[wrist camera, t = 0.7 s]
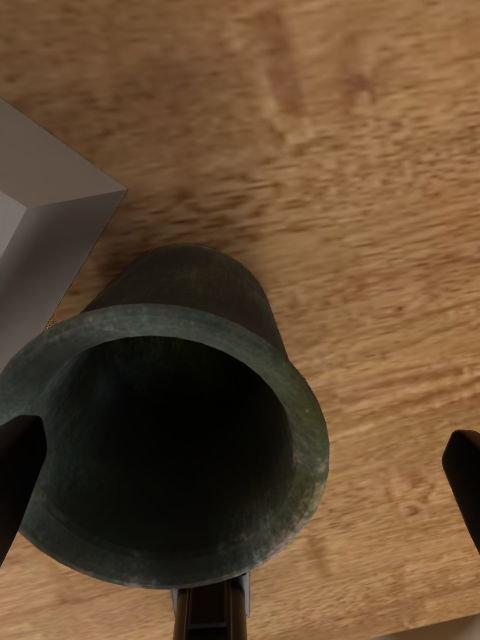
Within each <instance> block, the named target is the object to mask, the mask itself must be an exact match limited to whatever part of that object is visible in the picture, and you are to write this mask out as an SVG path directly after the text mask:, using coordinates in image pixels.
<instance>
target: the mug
mask: <svg viewBox="0 0 480 640" xmlns="http://www.w3.org/2000/svg"><path fill="white" fill-rule="evenodd" d="M18 415H38V416H40V417H41V418H42V421H43V425H44V430H45V436H46V441H47V454H46V457H45V460H44V463H43V466H42V468H41V471H40V474H39V476H38V479H37V482H36V484H35V487H34V490H33V493H32V495H31V498H30V501H29V503H28V506H27V509H26V512H25V514H24V517H23V519H22V522H21V524H20V527H19V529H18V531H19V532H20V533H21V535H23V536H24V537H25V538H26V539H27V540H28V541H30V542H31V543H32V544H33V545H34V546H36V547H37V548H38V549H39V550H41V551H42V552H44V553H45V554H47V555H48V556H50V557H51V558H53V559H54V560H56V561H58V562H59V563H61V564H63V565H65V566H67V567H69V568H71V569H74V570H76V571H78V572H80V573H82V574H85V575H88V576H90V577H93V578H96V579H99V580H102V581H105V582H110V583H114V584H118V585H122V586H128V587H136V588H144V589H182V588H193V587H198V586H203V585H208V584H213V583H218V582H221V581H224V580H227V579H230V578H233V577H236V576H239V575H241V574H243V573H245V572H248V571H250V570H252V569H254V568H256V567H258V566H260V565H261V564H263V563H264V562H266V561H268V560H269V559H271V558H273V557H274V556H276V555H277V554H278V553H279V552H280V551H282V550H283V549H284V548H285V547H286V546H288V545H289V544H290V543H291V542H292V541H293V540H294V539H295V538H296V537H297V536H298V534H299V533H300V532H301V531H302V530H303V529H304V528H305V526H306V525H307V523H308V522H309V520H310V519H311V517H312V516H313V514H314V512H315V511H316V509H317V507H318V504H319V502H320V500H321V497H322V495H323V493H324V490H325V485H326V480H327V476H328V471H329V439H328V433H327V427H326V422H325V419H324V416H323V413H322V411H321V408H320V405H319V403H318V400H317V398H316V397H315V395H314V393H313V392H312V390H311V388H310V387H309V385H308V383H307V381H306V380H305V378H304V377H303V376H302V375H301V374H300V372H299V371H298V370H297V369H296V368H295V367H294V365H293V364H292V363H291V362H290V361H289V359H288V356H287V353H286V350H285V347H284V344H283V342H282V339H281V336H280V333H279V330H278V327H277V325H276V322H275V319H274V316H273V313H272V310H271V308H270V305H269V302H268V300H267V297H266V294H265V292H264V291H263V289H262V287H261V286H260V284H259V282H258V281H257V280H256V279H255V277H254V276H253V275H252V274H251V272H250V271H249V270H247V269H246V268H245V267H244V266H243V265H242V264H241V263H239V262H238V261H236V260H235V259H233V258H232V257H230V256H229V255H227V254H225V253H222V252H220V251H218V250H215V249H212V248H208V247H205V246H201V245H191V244H178V245H169V246H165V247H160V248H157V249H154V250H152V251H150V252H147V253H145V254H143V255H142V256H140V257H138V258H137V259H135V260H134V261H132V262H131V263H130V264H129V265H128V266H127V267H126V268H125V269H124V270H123V271H122V272H121V273H120V274H119V275H118V276H117V277H116V278H115V279H114V280H113V281H112V282H111V283H110V284H109V285H108V286H107V287H106V288H105V289H104V290H103V291H102V292H101V293H100V294H99V295H98V296H97V297H96V298H95V299H94V300H93V301H92V302H91V303H90V304H89V305H88V306H87V307H86V308H85V309H84V310H83V311H82V312H81V313H80V314H79V315H77V316H74V317H72V318H69V319H67V320H65V321H62V322H60V323H57V324H55V325H53V326H52V327H50V328H49V329H47V330H45V331H44V332H42V333H41V334H39V335H38V336H36V337H35V338H33V339H32V340H30V341H29V342H28V343H27V344H26V345H25V346H24V347H23V348H22V349H21V350H19V351H18V352H17V353H16V354H15V355H14V356H13V357H12V358H11V359H10V360H9V362H8V363H7V365H6V366H5V367H4V369H3V370H2V372H1V373H0V426H1V425H3V424H4V423H6V422H8V421H9V420H11V419H13V418H14V417H16V416H18Z"/></svg>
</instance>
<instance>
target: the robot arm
mask: <svg viewBox="0 0 480 640" xmlns="http://www.w3.org/2000/svg"><path fill="white" fill-rule="evenodd" d="M46 454H47V441H46V436H45V430H44V425H43V421H42V418H41V417H40V416H38V415H18V416H16V417H14V418H13V419H11V420H9V421H8V422H6V423H4V424H3V425H1V426H0V567H1V565H2V563H3V561H4V559H5V557H6V555H7V553H8V551H9V548H10V546H11V544H12V542H13V540H14V538H15V536H16V534H17V532H18V529H19V527H20V524H21V522H22V519H23V517H24V514H25V512H26V509H27V506H28V503H29V501H30V498H31V495H32V493H33V490H34V487H35V484H36V482H37V479H38V476H39V474H40V471H41V468H42V466H43V463H44V460H45V457H46ZM442 465H443V469H444V471H445V474H446V476H447V479H448V481H449V484H450V486H451V489H452V491H453V494H454V497H455V499H456V502H457V504H458V507H459V509H460V512H461V514H462V517H463V519H464V522H465V524H466V526H467V529H468V531H469V533H470V536H471V538H472V540H473V542H474V544H475V546H476V548H477V550H478V552H479V554H480V433H478V432H476V431H473V430H455V431H454V432H453V433H452V434H451V437H450V439H449V441H448V444H447V446H446V449H445V451H444V453H443V456H442ZM172 597H173V605H174V613H175V624H174V633H173V640H247V626H246V619H247V618H248V617H249V616H250V587H249V571H248V572H245V573H243V574H241V575H239V576H236V577H233V578H230V579H227V580H224V581H221V582H218V583H213V584H208V585H203V586H198V587H193V588H182V589H172Z"/></svg>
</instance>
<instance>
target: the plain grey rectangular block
mask: <svg viewBox="0 0 480 640" xmlns="http://www.w3.org/2000/svg"><path fill="white" fill-rule="evenodd" d="M127 190H128V189H127V188H126V187H124V186H123V185H122V184H120V183H119V182H117V181H116V180H115V179H113V178H112V177H110V176H109V175H108V174H106V173H105V172H103V171H102V170H101V169H99V168H98V167H96V166H95V165H94V164H92V163H91V162H89V161H88V160H87V159H85V158H84V157H83V156H81V155H80V154H78V153H77V152H76V151H74V150H73V149H71V148H70V147H69V146H67V145H66V144H64V143H63V142H62V141H60V140H59V139H57V138H56V137H55V136H53V135H52V134H50V133H49V132H48V131H46V130H45V129H44V128H42V127H41V126H39V125H38V124H37V123H35V122H34V121H32V120H31V119H30V118H28V117H27V116H25V115H24V114H23V113H21V112H20V111H18V110H17V109H16V108H14V107H13V106H11V105H10V104H9V103H7V102H6V101H5V100H3V99H2V98H0V373H1V372H2V370H3V369H4V367H5V366H6V365H7V363H8V362H9V360H10V359H11V358H12V357H13V356H14V355H15V354H16V353H17V352H18V351H19V350H21V349H22V348H23V347H24V346H25V345H26V344H27V343H28V342H29V341H30V340H32V339H33V338H35V337H36V336H38V335H39V334H41V333H42V331H43V330H44V328H45V326H46V325H47V323H48V321H49V320H50V318H51V316H52V315H53V313H54V311H55V310H56V308H57V306H58V305H59V303H60V301H61V300H62V298H63V296H64V295H65V293H66V291H67V290H68V288H69V286H70V285H71V283H72V282H73V280H74V278H75V277H76V275H77V273H78V272H79V270H80V268H81V267H82V265H83V263H84V262H85V260H86V258H87V257H88V255H89V253H90V252H91V250H92V248H93V247H94V245H95V243H96V242H97V240H98V238H99V237H100V235H101V233H102V232H103V230H104V228H105V227H106V225H107V223H108V222H109V220H110V218H111V217H112V215H113V213H114V212H115V210H116V208H117V207H118V205H119V204H120V202H121V200H122V199H123V197H124V195H125V194H126V192H127Z"/></svg>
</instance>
